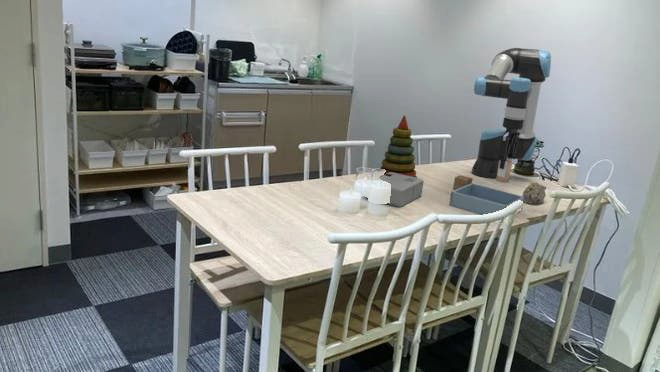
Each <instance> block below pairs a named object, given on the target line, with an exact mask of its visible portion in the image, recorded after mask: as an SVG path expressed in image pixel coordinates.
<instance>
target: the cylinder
mask: <svg viewBox="0 0 660 372" xmlns="http://www.w3.org/2000/svg"><path fill="white" fill-rule="evenodd" d="M499 164H500V161H499ZM512 167H513V161H512V162H511V161H507V166H506V172H505V177H500V176H497V177H496V178H495V180H496V181H497V182H499V183H505V184H507V183H510V177H511V171H512ZM498 169H499V166H498ZM497 175H498V172H497Z"/></svg>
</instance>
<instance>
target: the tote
mask: <svg viewBox="0 0 660 372" xmlns="http://www.w3.org/2000/svg"><path fill="white" fill-rule="evenodd" d="M518 200H521V201H523V203H524V197H523V196H522V195H518V194H516V193H511V192H508V191H503V190H501V189H500V190H499V189H496V188H492V187H488V186H485V185H481V184H476V183H474V182H472V183H471V184H469V185H466V186H464V187H461V188H459V189H457V190H452V191H451V193H450V199H449V206H451V207H456V208H459V209H463V210H465V211H469V212H472V213H476V214H478V215H482V214H488V213H493V212H496V211H499V210H502V209H504V208H506V207H507V206H509V205H510V204H512V203H513V202H515V201H518ZM521 209H522V210H523V207H522V208H521Z"/></svg>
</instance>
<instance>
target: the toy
mask: <svg viewBox="0 0 660 372" xmlns="http://www.w3.org/2000/svg"><path fill="white" fill-rule="evenodd" d="M411 135H412V129H411V128H409V126H408V122H407V118H406V115H403V116H402V118H401V121H400V122H399V124H398V126H397V127H394V128H393V129H392V136H390V139H389V143H388V145H387V151H385V153H384V157H385V158H384V159H383V160H382V161H381V166H380V168H379V170H380V169H385V170H386V172H385V173H384V175H385V174H387V173H389V172H393V173H398V174H402V175H406V176H410V177H414V178H418V177H417V171H416V170H415V169H416V164H415V162H414V161H415V159H416V158H415V155H414V154H413V153H414V151H415V148H414V146H412V145H413V142H414V140H413V137H411Z"/></svg>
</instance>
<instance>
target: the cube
mask: <svg viewBox="0 0 660 372" xmlns="http://www.w3.org/2000/svg"><path fill="white" fill-rule="evenodd" d="M473 179H474V178H473V177H470V176H466V175H463V174H460V175H457V176H455V177H454V181H453V187H452V191H454V190H457V189H459V188H461V187H464V186H466V185H469V184H471V183H473Z"/></svg>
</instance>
